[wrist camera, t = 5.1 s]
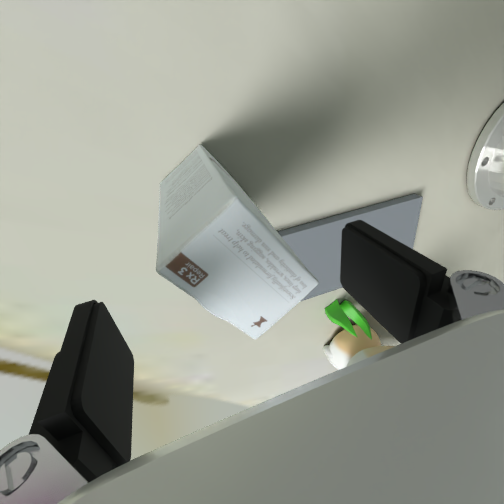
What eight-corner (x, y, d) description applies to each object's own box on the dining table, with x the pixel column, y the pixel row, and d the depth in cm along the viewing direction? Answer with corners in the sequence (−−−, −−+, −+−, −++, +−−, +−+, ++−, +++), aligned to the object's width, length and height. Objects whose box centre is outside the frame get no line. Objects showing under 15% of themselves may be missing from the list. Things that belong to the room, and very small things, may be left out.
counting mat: (414, 193, 28) (422, 196, 27) (402, 260, 32) (409, 265, 31) (218, 248, 24) (220, 253, 23) (234, 315, 28) (236, 322, 27)
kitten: (290, 322, 31) (383, 475, 19) (367, 276, 31) (510, 397, 19) (326, 384, 39) (407, 518, 27) (386, 347, 40) (494, 464, 27)
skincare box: (251, 198, 23) (331, 283, 13) (212, 236, 23) (258, 346, 13) (197, 138, 19) (246, 187, 9) (152, 184, 20) (152, 277, 10)
